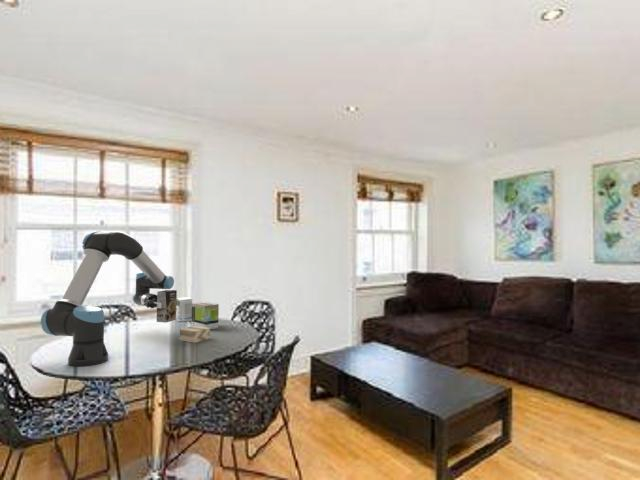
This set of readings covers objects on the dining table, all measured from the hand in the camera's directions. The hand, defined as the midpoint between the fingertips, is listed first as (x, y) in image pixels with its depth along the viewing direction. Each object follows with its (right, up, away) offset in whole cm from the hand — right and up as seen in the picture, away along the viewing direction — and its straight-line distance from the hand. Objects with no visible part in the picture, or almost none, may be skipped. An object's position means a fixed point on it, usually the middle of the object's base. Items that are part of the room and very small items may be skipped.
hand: (170, 304), depth 212 cm
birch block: (+11, -20, +4) cm, 23 cm away
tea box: (+8, -20, +33) cm, 39 cm away
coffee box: (-3, -9, +3) cm, 10 cm away
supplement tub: (-11, -19, +54) cm, 58 cm away
